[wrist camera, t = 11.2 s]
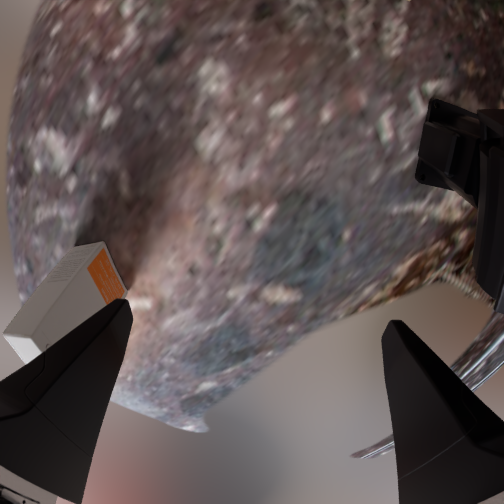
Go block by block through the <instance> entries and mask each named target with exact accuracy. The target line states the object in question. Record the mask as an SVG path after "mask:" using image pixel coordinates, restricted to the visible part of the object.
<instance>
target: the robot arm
mask: <svg viewBox="0 0 504 504" xmlns="http://www.w3.org/2000/svg"><path fill="white" fill-rule="evenodd" d="M435 103H437V108H435V107H434V104H435ZM418 156H419V160H418V164H417V169H416V173H415V178H416V180H417V181H418V182H419V183H421V184H426V185H431V186H435V187H440V188H444V189H448V190H453V191H456V192H457V193H458V194H459V195H460V196H462V197H463V198H464V199H465V200H466V201H468V202H469V203H470V204H471V205H472V206H474V207H475V208H476V209H477V210H478V216H477V226H476V235H475V243H474V250H473V259H472V263H473V266H474V269H475V273H476V275H477V278H476V281H477V283H478V284H479V285H480V286H481V288H482V289H483V290H484V291H485V292H486V293H487V294H489V295H490V296H491V297H492V298H493V299H495V300H496V302H495V305H494V310H495V311H496V312H499V313H503V314H504V109H484V110H477V114H474V113H472V112H470V111H467V110H465V109H462V108H460V107H457V106H455V105H452V104H450V103H447V102H444V101H441V100H439V99H434V98H433V99H431V100H430V101H429V105H428V112H427V118H426V123H424V126H423V132H422V137H421V142H420V147H419V152H418ZM422 174H423V178H421V179H420V176H421V175H422ZM132 323H133V315H132V312H131V308H130V305H129V301H128V300H126V299H121V298H116V299H114V300H113V301H112V302H110V303H109V304H107V305H106V306H105V307H103V308H102V309H100V310H99V311H98V312H96V313H95V314H93V315H92V316H91V317H89V318H88V319H87V320H85V321H84V322H82V323H81V324H80V325H78V326H77V327H76V328H74V329H73V330H72V331H70V332H69V333H68V334H66V335H65V336H64V337H62V338H61V339H60V340H58V341H57V342H56V343H54V344H53V345H52V346H50V347H49V348H48V349H46V352H45V351H44V352H42V353H41V354H40V355H38V356H37V357H36V358H34V359H33V360H32V361H30V362H29V363H28V364H26V365H25V366H23V367H22V368H20V369H19V370H17V371H16V372H14V373H12V374H11V375H9V376H8V377H6V378H5V379H3V380H2V381H0V504H55V503H56V500H57V496H59V497H61V498H63V499H66V500H68V501H71V502H73V503H75V504H81V503H82V498H83V495H84V490H85V486H86V482H87V477H88V473H89V469H90V466H91V462H92V457H93V454H94V449H95V446H96V443H97V439H98V436H99V432H100V428H101V426H102V422H103V419H104V416H105V412H106V409H107V406H108V403H109V400H110V397H111V394H112V391H113V388H114V385H115V382H116V379H117V376H118V373H119V371H120V368H121V365H122V362H123V359H124V355H125V351H126V347H127V343H128V339H129V335H130V331H131V327H132ZM381 342H382V353H383V364H384V376H385V383H386V389H387V395H388V400H389V407H390V413H391V421H392V428H393V436H394V444H395V453H396V463H397V474H398V490H399V504H504V421H503V420H501V418H499V417H498V416H497V415H496V414H495V413H494V412H493V411H492V410H491V409H490V408H489V407H487V406H486V405H485V404H484V403H483V402H482V401H481V400H480V399H479V398H478V397H477V396H476V395H475V394H474V393H473V392H472V391H471V390H470V389H469V388H468V387H467V386H466V385H465V384H464V383H463V382H462V380H461V379H460V378H459V377H458V376H457V375H456V374H455V373H454V372H453V371H452V370H451V369H450V368H449V367H448V366H447V365H446V364H445V363H444V362H443V361H442V360H441V359H440V358H439V357H438V356H437V355H436V354H435V353H434V352H433V351H432V350H431V349H430V348H429V347H428V346H427V345H426V344H425V343H424V342H423V341H422V340H421V339H420V338H419V337H418V336H417V335H416V334H415V333H414V332H413V331H412V330H411V329H410V328H409V327H408V326H407V325H406V324H405V323H404V322H403V321H402V320H391V321H390V322H389V323H388V325H387V327H386V329H385V331H384V333H383V336H382V340H381Z"/></svg>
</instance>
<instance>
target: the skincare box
mask: <svg viewBox="0 0 504 504" xmlns="http://www.w3.org/2000/svg"><path fill="white" fill-rule="evenodd" d="M127 294H128V291H127V289H126V288H125V286H124V284H123V282H122V280H121V278H120V276H119V274H118V272H117V270H116V268H115V265H114V263H113V261H112V258H111V256H110V254H109V252H108V249H107V247H106V244H105V242H104V241H101V242H97V243H92V244H87V245H81V246H75V247H73V248H72V249H71V250H70V251H69V252H68V253H67V254H66V255H65V256H64V257H63V259H62V260H61V261H60V262H59V263H58V264H57V265H56V266H55V267H54V269H53V270H52V271H51V272H50V273H49V274H48V276H47V277H46V278H45V279H44V280H43V282H42V283H41V284H40V285H39V286H38V288H37V289H36V290H35V291H34V293H33V294H32V295H31V296H30V298H29V299H28V300H27V301H26V303H25V304H24V305H23V306H22V308H21V309H20V310H19V312H18V313H17V314H16V316H15V317H14V319H13V320H12V321H11V323H10V324H9V325H8V326H7V328H6V329H5V330H4V332H3V336H4V337H5V338H6V340H7V341H8V342H9V343H10V345H11V346H12V347H13V348H14V350H15V351H16V352H17V354H18V355H19V357H20V358H21V359H22V360H23V362H24V363H25V364H28V363H29V362H30V361H32V360H33V359H34V358H36V357H37V356H38V355H40V354H41V353H42V352H44V351H45V352H46V349H48V348H49V347H50V346H52V345H53V344H54V343H56V342H57V341H58V340H60V339H61V338H62V337H64V336H65V335H66V334H68V333H69V332H70V331H72V330H73V329H74V328H76V327H77V326H78V325H80V324H81V323H82V322H84V321H85V320H87V319H88V318H89V317H91V316H92V315H93V314H95V313H96V312H98V311H99V310H100V309H102V308H103V307H105V306H106V305H107V304H109V303H110V302H112V301H113V300H114V299H116V298H121V299H125V297H126V296H127Z"/></svg>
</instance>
